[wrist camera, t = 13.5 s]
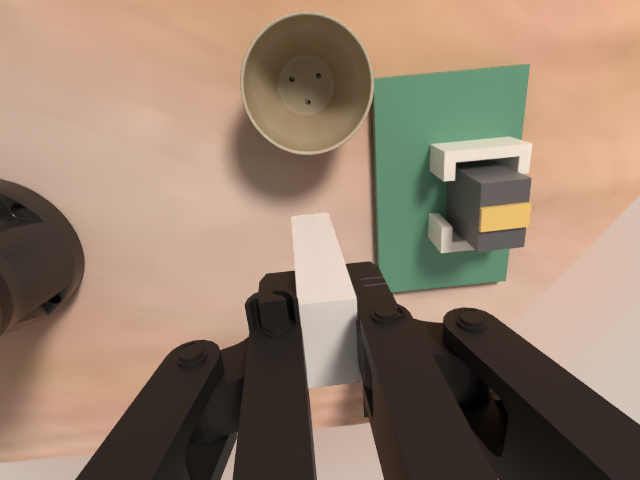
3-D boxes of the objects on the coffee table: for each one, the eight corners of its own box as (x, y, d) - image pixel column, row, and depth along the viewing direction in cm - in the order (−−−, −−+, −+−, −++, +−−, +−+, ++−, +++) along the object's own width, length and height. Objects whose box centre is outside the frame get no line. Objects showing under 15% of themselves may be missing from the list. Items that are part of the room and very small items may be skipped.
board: (378, 288, 45) (387, 313, 40) (371, 78, 36) (382, 79, 32) (500, 275, 45) (524, 299, 40) (522, 64, 37) (556, 63, 32)
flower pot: (382, 80, 36) (401, 82, 30) (309, 162, 39) (312, 180, 32) (300, -6, 33) (302, -25, 27) (227, 88, 36) (212, 92, 29)
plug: (446, 221, 41) (479, 254, 33) (447, 163, 38) (483, 185, 31) (485, 216, 41) (526, 248, 33) (488, 158, 38) (534, 179, 31)
